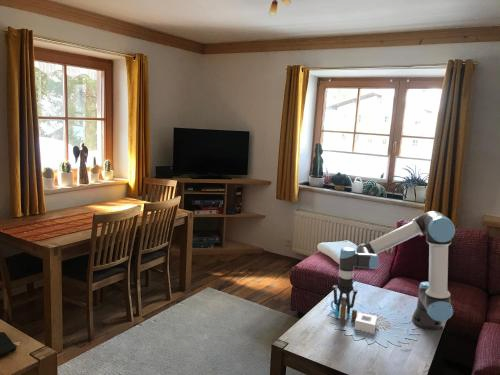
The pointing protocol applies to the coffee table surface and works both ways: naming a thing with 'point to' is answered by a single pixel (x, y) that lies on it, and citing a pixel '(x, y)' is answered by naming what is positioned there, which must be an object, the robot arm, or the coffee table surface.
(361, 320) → the hole block
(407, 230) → the robot arm
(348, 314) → the mug
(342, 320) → the long dowel
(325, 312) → the coffee table surface
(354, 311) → the short dowel
